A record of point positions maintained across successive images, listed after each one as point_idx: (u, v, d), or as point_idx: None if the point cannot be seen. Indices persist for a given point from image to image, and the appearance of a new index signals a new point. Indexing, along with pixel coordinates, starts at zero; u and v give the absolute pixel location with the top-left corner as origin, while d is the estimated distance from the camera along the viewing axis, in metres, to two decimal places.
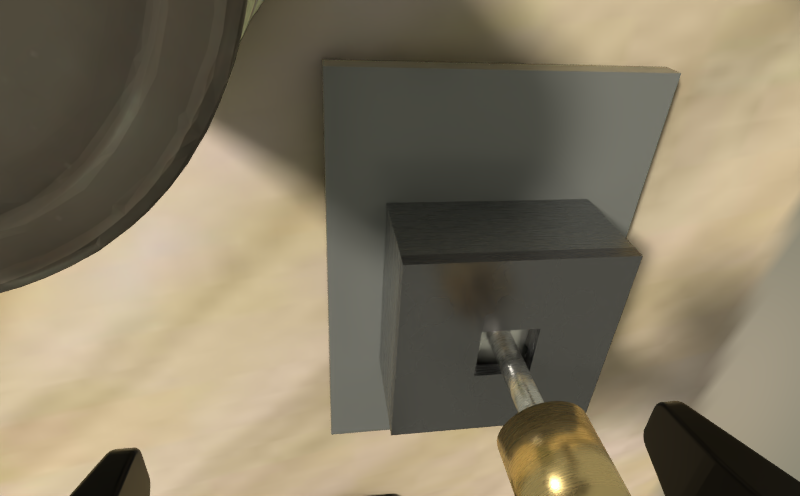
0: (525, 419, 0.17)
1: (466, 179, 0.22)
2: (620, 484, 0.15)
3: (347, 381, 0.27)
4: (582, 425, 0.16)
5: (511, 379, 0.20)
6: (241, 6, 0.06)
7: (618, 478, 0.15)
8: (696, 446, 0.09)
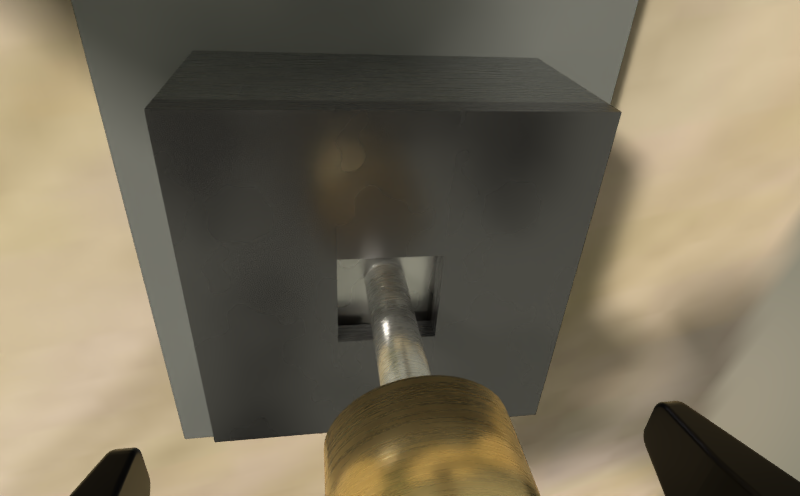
0: (363, 414, 0.08)
1: (327, 9, 0.13)
2: None
3: (191, 360, 0.18)
4: (481, 426, 0.08)
5: (380, 341, 0.11)
6: None
7: None
8: (696, 446, 0.09)
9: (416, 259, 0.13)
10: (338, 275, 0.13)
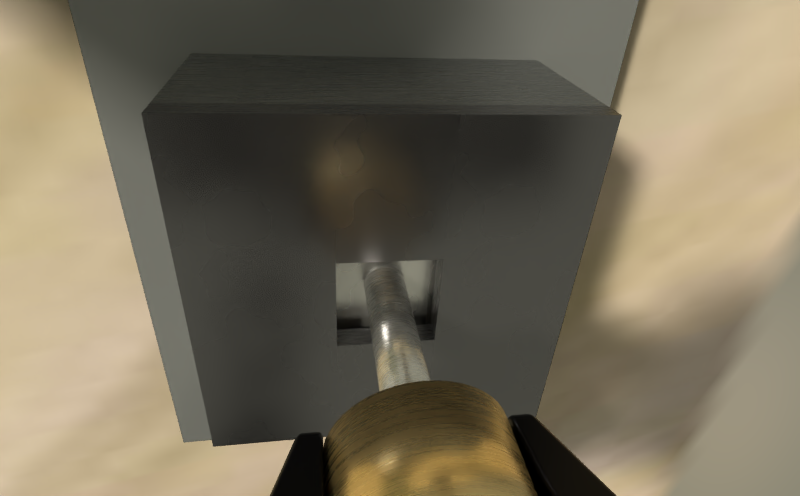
0: (361, 420, 0.08)
1: (325, 12, 0.13)
2: None
3: (190, 363, 0.18)
4: (481, 432, 0.07)
5: (379, 345, 0.11)
6: None
7: None
8: (532, 462, 0.08)
9: (415, 263, 0.13)
10: (337, 278, 0.13)
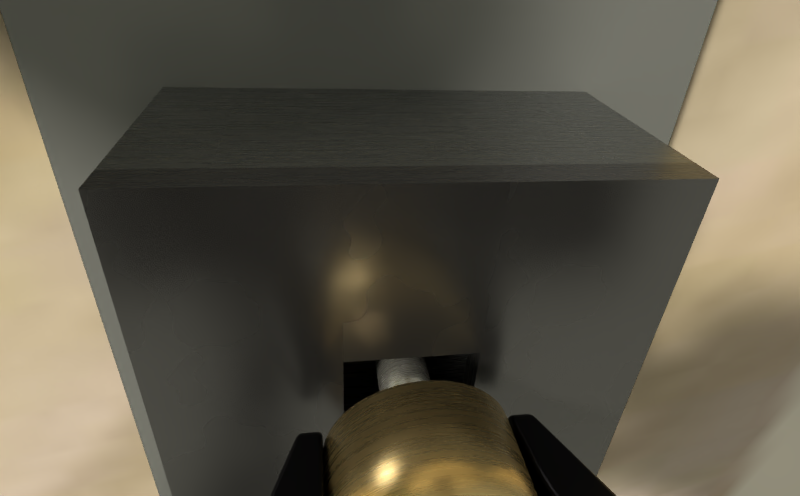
0: (361, 420, 0.08)
1: (330, 36, 0.10)
2: None
3: None
4: (481, 432, 0.07)
5: None
6: None
7: None
8: (532, 463, 0.08)
9: None
10: None
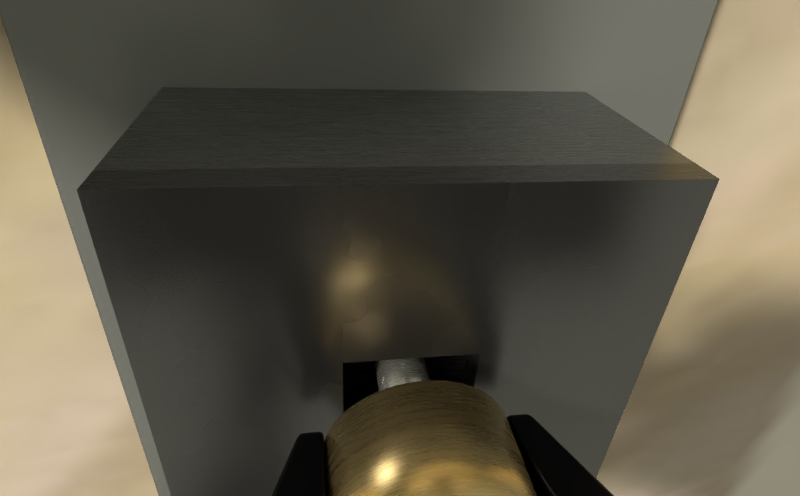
0: (361, 420, 0.08)
1: (329, 36, 0.10)
2: None
3: None
4: (480, 432, 0.07)
5: None
6: None
7: None
8: (530, 463, 0.08)
9: None
10: None
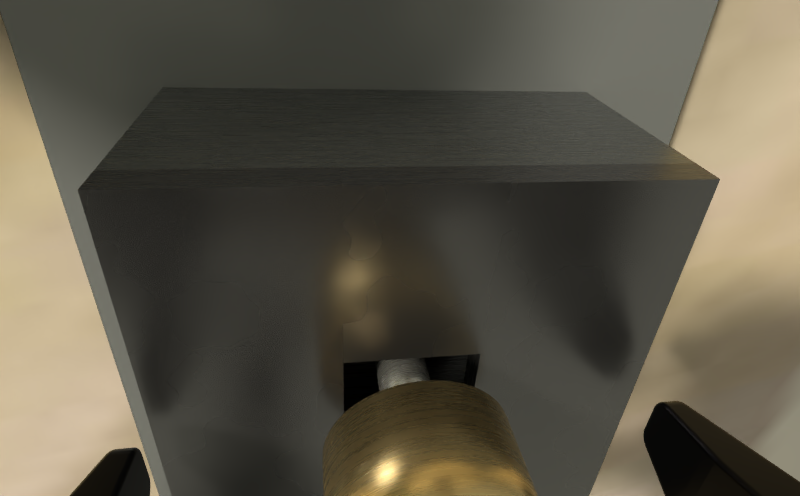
0: (361, 420, 0.08)
1: (330, 36, 0.10)
2: None
3: None
4: (481, 432, 0.07)
5: None
6: None
7: None
8: (696, 446, 0.09)
9: None
10: None
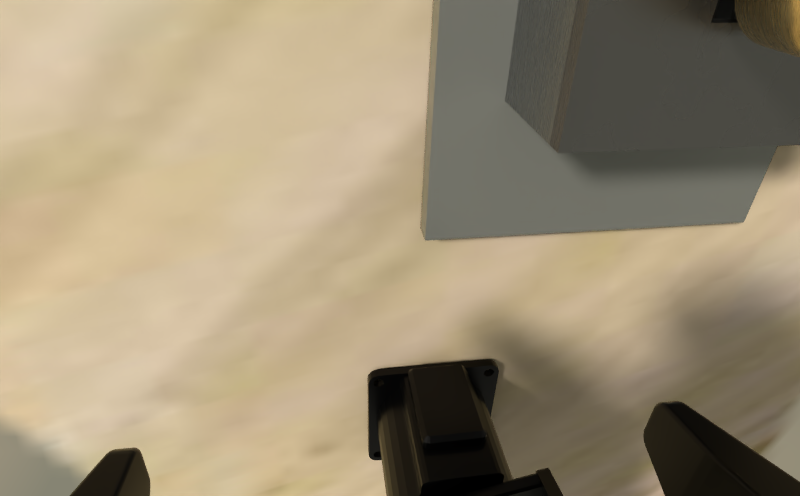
0: None
1: None
2: None
3: (455, 141, 0.19)
4: None
5: None
6: None
7: None
8: (696, 446, 0.09)
9: None
10: None
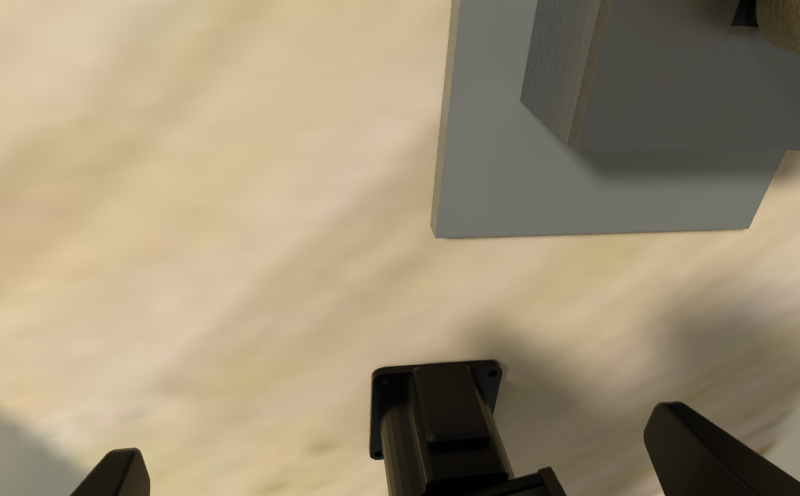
0: None
1: None
2: None
3: (469, 139, 0.19)
4: None
5: None
6: None
7: None
8: (696, 446, 0.09)
9: None
10: None
